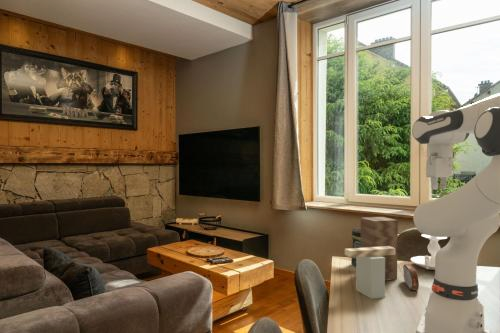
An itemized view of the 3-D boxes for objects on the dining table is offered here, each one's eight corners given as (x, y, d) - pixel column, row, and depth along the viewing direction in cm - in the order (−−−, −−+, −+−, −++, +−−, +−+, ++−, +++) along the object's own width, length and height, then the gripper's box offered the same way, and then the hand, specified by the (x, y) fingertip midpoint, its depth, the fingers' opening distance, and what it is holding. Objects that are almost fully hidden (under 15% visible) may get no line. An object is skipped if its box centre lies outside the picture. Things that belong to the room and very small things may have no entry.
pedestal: (370, 298, 130) (371, 258, 130) (355, 289, 140) (356, 252, 139) (384, 297, 131) (385, 257, 131) (368, 288, 141) (369, 251, 141)
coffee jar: (348, 265, 174) (349, 228, 173) (357, 262, 179) (358, 226, 179) (365, 269, 166) (366, 231, 166) (374, 266, 171) (375, 229, 171)
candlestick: (401, 270, 166) (402, 211, 166) (417, 259, 184) (418, 207, 184) (450, 280, 152) (451, 216, 152) (462, 267, 171) (463, 211, 171)
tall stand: (373, 281, 150) (374, 221, 150) (360, 274, 159) (360, 217, 159) (397, 278, 153) (397, 220, 153) (382, 272, 163) (383, 216, 162)
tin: (419, 293, 136) (419, 272, 136) (410, 292, 136) (411, 271, 136) (409, 281, 151) (410, 261, 150) (402, 280, 151) (402, 261, 151)
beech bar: (350, 257, 131) (350, 251, 131) (344, 255, 135) (344, 248, 135) (395, 254, 136) (395, 248, 136) (388, 252, 140) (388, 246, 140)
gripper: (439, 152, 124) (439, 190, 125) (455, 153, 139) (455, 188, 139) (421, 152, 129) (421, 189, 129) (438, 154, 143) (438, 187, 144)
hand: (439, 189), depth 134 cm, fingers open, 8 cm apart
